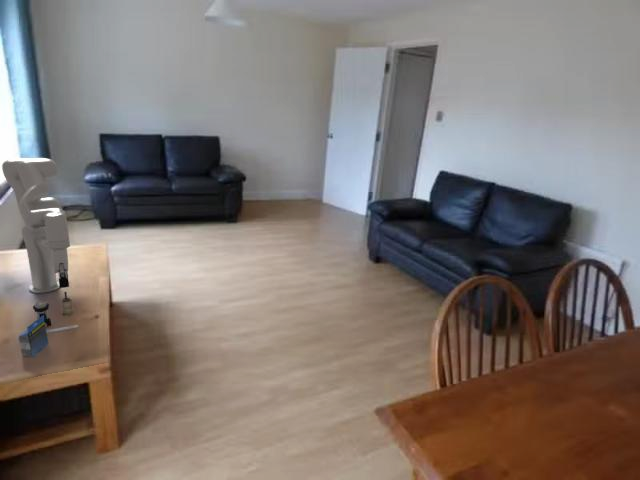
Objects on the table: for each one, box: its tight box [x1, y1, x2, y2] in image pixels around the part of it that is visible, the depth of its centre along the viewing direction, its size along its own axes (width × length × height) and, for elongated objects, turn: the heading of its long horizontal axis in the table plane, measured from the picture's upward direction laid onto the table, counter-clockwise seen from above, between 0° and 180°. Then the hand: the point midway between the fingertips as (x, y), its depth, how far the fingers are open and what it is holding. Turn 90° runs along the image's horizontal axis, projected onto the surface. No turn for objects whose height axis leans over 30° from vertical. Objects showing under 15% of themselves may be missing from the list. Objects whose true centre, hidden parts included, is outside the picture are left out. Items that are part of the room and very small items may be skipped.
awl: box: [60, 291, 74, 317], centre depth 175 cm, size 4×4×10 cm
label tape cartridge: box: [18, 315, 49, 358], centre depth 150 cm, size 9×4×12 cm, turn 178°
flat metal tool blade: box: [46, 324, 79, 334], centre depth 165 cm, size 2×13×1 cm, turn 122°
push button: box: [32, 301, 52, 328], centre depth 164 cm, size 7×5×10 cm
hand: (64, 282), depth 171 cm, fingers open, 9 cm apart
